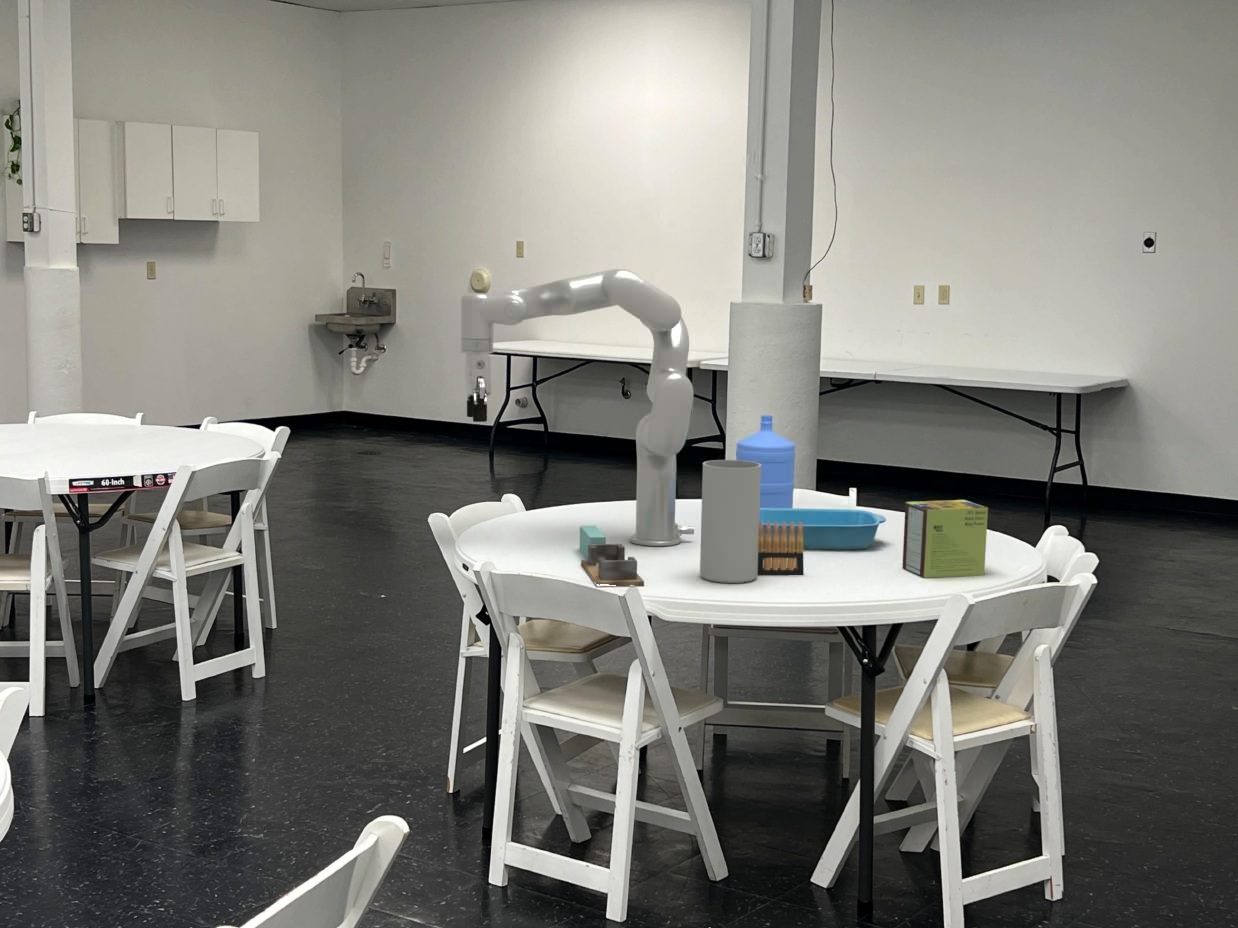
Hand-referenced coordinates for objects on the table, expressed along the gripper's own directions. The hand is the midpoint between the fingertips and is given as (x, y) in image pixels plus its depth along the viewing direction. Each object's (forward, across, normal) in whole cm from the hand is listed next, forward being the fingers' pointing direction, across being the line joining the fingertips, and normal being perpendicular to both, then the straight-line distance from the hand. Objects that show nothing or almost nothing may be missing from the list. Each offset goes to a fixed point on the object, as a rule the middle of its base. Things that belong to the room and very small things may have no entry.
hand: (476, 419), depth 329 cm
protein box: (+31, -45, -99) cm, 113 cm away
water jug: (+31, +21, -80) cm, 89 cm away
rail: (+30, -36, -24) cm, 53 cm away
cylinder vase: (+31, -43, -49) cm, 72 cm away
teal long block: (+31, -16, -25) cm, 42 cm away
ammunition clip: (+31, -42, -61) cm, 80 cm away
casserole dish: (+31, -9, -81) cm, 87 cm away
